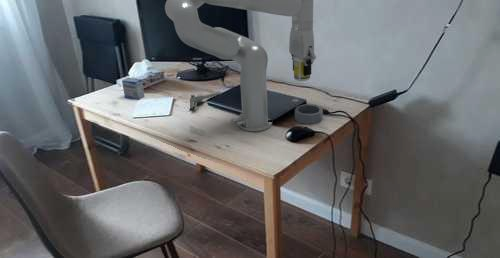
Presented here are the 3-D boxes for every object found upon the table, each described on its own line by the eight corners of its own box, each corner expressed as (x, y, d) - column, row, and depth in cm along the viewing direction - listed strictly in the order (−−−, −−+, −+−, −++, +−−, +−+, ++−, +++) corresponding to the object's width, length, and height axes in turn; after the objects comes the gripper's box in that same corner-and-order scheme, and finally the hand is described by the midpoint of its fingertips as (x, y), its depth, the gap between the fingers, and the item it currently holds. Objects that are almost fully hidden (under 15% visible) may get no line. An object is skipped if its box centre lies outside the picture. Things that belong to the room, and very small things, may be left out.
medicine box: (124, 98, 192) (121, 80, 188) (130, 94, 195) (127, 77, 192) (139, 100, 189) (135, 82, 185) (144, 96, 193) (141, 78, 189)
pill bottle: (311, 76, 162) (312, 48, 157) (307, 82, 157) (308, 53, 152) (296, 75, 164) (296, 47, 159) (291, 80, 159) (291, 52, 154)
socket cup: (304, 126, 157) (304, 117, 155) (290, 116, 165) (290, 107, 164) (327, 120, 161) (327, 111, 159) (312, 110, 169) (312, 102, 167)
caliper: (192, 110, 177) (190, 96, 174) (190, 109, 177) (188, 95, 174) (222, 93, 191) (221, 80, 188) (220, 93, 192) (219, 80, 189)
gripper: (280, 22, 157) (281, 68, 165) (308, 31, 143) (307, 81, 151) (297, 19, 160) (297, 64, 168) (325, 27, 146) (324, 76, 154)
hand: (301, 72), depth 159 cm, fingers closed on pill bottle, 6 cm apart
